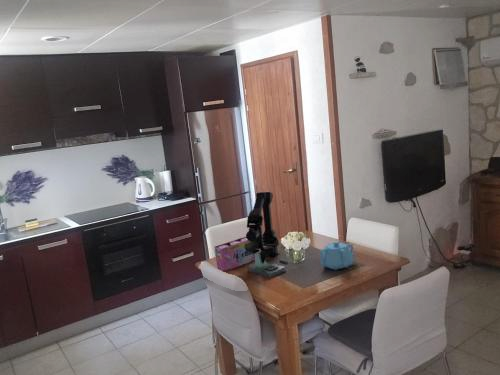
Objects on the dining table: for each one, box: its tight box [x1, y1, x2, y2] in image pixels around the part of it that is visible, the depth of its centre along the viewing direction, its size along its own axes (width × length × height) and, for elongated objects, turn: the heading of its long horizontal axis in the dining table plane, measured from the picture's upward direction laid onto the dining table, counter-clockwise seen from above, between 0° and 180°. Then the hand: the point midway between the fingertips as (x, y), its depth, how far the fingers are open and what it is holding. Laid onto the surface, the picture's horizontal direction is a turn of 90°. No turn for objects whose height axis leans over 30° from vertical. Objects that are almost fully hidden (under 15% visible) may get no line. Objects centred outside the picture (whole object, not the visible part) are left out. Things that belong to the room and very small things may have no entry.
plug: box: [254, 251, 267, 267], centre depth 245 cm, size 4×4×8 cm
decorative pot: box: [319, 241, 355, 271], centre depth 236 cm, size 16×16×14 cm
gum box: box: [214, 236, 255, 272], centre depth 259 cm, size 24×8×14 cm, turn 126°
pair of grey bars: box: [272, 259, 289, 266], centre depth 251 cm, size 7×6×1 cm
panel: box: [247, 260, 287, 279], centre depth 242 cm, size 12×18×3 cm, turn 40°
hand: (260, 262), depth 245 cm, fingers closed on plug, 4 cm apart
